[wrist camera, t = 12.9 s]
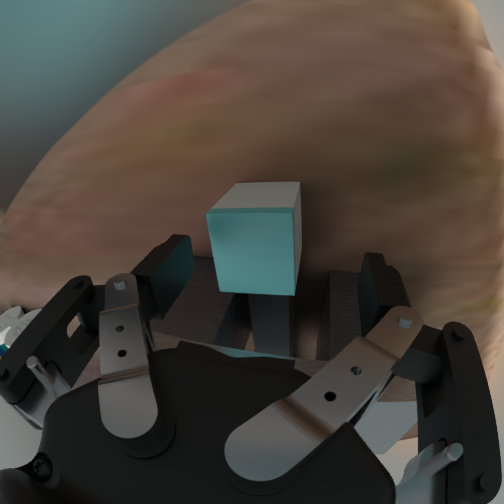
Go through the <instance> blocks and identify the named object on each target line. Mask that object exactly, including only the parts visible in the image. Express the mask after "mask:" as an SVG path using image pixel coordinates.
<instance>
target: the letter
mask: <svg viewBox="0 0 504 504" xmlns="http://www.w3.org/2000/svg"><path fill="white" fill-rule="evenodd" d="M41 310H42V309H35V310H33V311H31V312H28V313H27V314H24V312H23V310H22V309H21V307H19V306H15V307H13V308H11V309H9V310H7V311H6V312H4V313H3V314H2V315H0V345H2V344H4V343H5V344H6V346H7V347H8V348H9V347H10V346H11V345H12V343H13V342H14V341H15V340H16V339H17V337H18V336H19V335H20V334H21V333H22V331H23V330H24V329H25V328H26V327H27V326H28V324H29V323H30V322H31V321H32V320H33V319H34V318H35V316H36V315H37V314H38V313H39V312H40V311H41Z"/></svg>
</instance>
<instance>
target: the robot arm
mask: <svg viewBox="0 0 504 504" xmlns="http://www.w3.org/2000/svg"><path fill="white" fill-rule="evenodd" d="M193 272H194V259H193V252H192V245H191V239H190V237H189V236H188V235H179V234H173V235H172V236H171V237H170V238H169V239H168V240H167V241H166V242H165V243H162V244H161V245H159V246H157V247H155V248H154V249H153V250H152V251H151V252H150V253H149V255H147V256H146V257H145V258H144V260H142V261H141V262H140V263H139V264H138V265H137V266H136V267H135V268H134V269H133V270H132V271H131V272H130V273H121V274H117V275H115V276H113V277H111V278H110V279H109V280H108V281H107V282H106V284H105V285H94V286H93V283H92V280H91V278H90V277H89V276H86V275H82V276H77V277H75V278H73V279H71V280H70V281H68V282H67V283H66V284H65V285H64V286H63V287H62V288H61V290H60V291H59V292H58V293H57V294H56V295H55V296H54V297H53V298H52V299H51V300H50V301H49V302H48V303H47V304H46V305H45V306H44V308H43V309H42V310H41V311H40V312H39V313H38V314H37V315H36V316H35V318H34V319H33V320H32V321H31V322H30V323H29V324H28V326H27V327H26V328H25V329H24V330H23V331H22V333H21V334H20V335H19V336H18V337H17V339H16V340H15V341H14V342H13V343H12V345H11V346H10V347H9V348H8V350H7V351H6V352H5V353H4V355H3V356H2V357H1V359H0V395H1V396H2V397H3V399H4V400H5V402H6V403H7V404H8V405H9V406H10V407H11V408H12V409H13V410H14V411H15V412H16V413H17V414H19V416H21V417H22V418H23V419H25V420H26V421H27V422H28V423H29V424H30V425H32V426H33V427H34V428H35V429H40V430H42V429H43V432H42V438H41V442H40V446H39V449H38V452H37V454H36V456H35V457H34V459H33V460H32V461H31V462H29V463H28V464H26V465H24V466H21V467H18V468H13V469H12V468H9V469H4V470H0V504H487V503H489V502H490V501H491V500H493V499H494V497H495V496H496V495H497V493H498V491H499V489H500V486H501V482H502V472H501V457H500V447H499V439H498V432H497V425H496V419H495V414H494V409H493V404H492V399H491V395H490V390H489V386H488V382H487V378H486V375H485V371H484V368H483V364H482V361H481V357H480V354H479V351H478V348H477V345H476V342H475V339H474V336H473V334H472V332H471V331H470V329H469V328H468V327H466V326H465V325H463V324H461V323H459V322H449V323H447V324H445V325H444V327H443V329H442V330H439V329H435V328H432V327H429V326H426V325H424V324H423V319H422V317H421V315H420V314H419V313H418V312H417V311H415V310H414V309H412V308H410V304H409V301H408V298H407V295H406V292H405V289H404V286H403V283H402V282H401V281H402V280H401V277H400V275H399V272H398V271H397V270H396V269H395V268H394V267H393V266H389V265H386V263H385V260H384V257H383V254H381V253H371V252H366V253H365V255H364V260H363V264H362V269H361V274H360V278H359V283H358V303H359V312H360V322H361V334H362V336H361V335H359V336H357V337H356V338H355V339H354V340H353V341H352V342H351V343H349V344H348V345H347V346H346V347H345V348H344V349H343V350H342V351H341V352H340V353H339V354H338V355H337V356H336V357H334V358H333V359H332V360H331V361H330V362H329V363H328V364H327V365H326V366H324V367H323V368H322V369H321V370H320V371H319V372H318V373H316V374H315V375H314V376H313V377H311V376H309V375H307V374H305V373H303V372H301V371H299V370H296V369H294V367H295V360H290V359H282V358H274V357H267V356H260V357H231V356H228V355H226V354H224V353H221V352H219V351H217V350H214V349H212V348H210V347H208V346H205V345H200V344H195V343H190V342H186V341H182V340H180V341H179V343H178V345H177V347H176V348H167V349H161V350H156V346H155V342H154V337H153V333H152V329H151V325H150V320H151V319H156V320H161V321H162V320H163V318H164V317H165V315H166V314H167V312H168V311H169V309H170V308H171V306H172V305H173V303H174V302H175V300H176V299H177V297H178V296H179V294H180V293H181V291H182V290H183V289H184V287H185V286H186V284H187V283H188V281H189V280H190V278H191V277H192V275H193ZM76 315H77V317H78V319H79V321H80V323H81V324H80V326H79V327H78V328H77V329H76V331H75V332H74V333H73V335H72V336H71V337H70V338H69V337H68V335H67V327H68V324H69V323H70V322H71V321H72V319H73V318H74V317H75V316H76ZM99 346H100V366H101V377H100V378H98V379H96V380H94V381H91V382H89V383H87V384H85V385H83V386H81V387H79V388H76V389H74V390H72V391H71V389H72V387H73V386H74V384H75V383H76V381H77V379H78V378H79V376H80V375H81V373H82V371H83V370H84V368H85V367H86V365H87V364H88V362H89V361H90V359H91V358H92V356H93V355H94V353H95V352H96V350H97V349H98V347H99ZM396 376H399V377H402V378H405V379H408V380H412V381H415V388H416V401H417V418H418V455H417V456H415V457H414V458H412V459H411V460H410V461H409V462H408V464H407V465H406V467H405V470H404V474H403V478H402V480H401V482H400V483H399V484H398V485H397V486H395V484H394V481H393V479H392V477H391V475H390V473H389V472H388V471H387V470H386V468H385V467H384V466H383V464H382V463H381V462H380V461H379V459H378V458H377V457H376V456H375V454H374V453H373V452H372V450H371V449H370V448H369V447H368V445H367V444H366V443H365V441H364V440H363V439H362V438H361V436H360V435H359V434H358V432H357V431H356V430H355V427H356V426H357V425H358V424H359V423H360V422H361V420H362V419H363V418H364V417H365V415H366V414H367V413H368V411H369V410H370V409H371V408H372V406H373V405H374V404H375V403H376V401H377V400H378V399H379V398H380V397H381V395H382V394H383V393H384V392H385V390H386V389H387V388H388V386H389V385H390V384H391V382H392V381H393V380H394V378H395V377H396Z"/></svg>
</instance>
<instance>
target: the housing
mask: <svg viewBox="0 0 504 504" xmlns="http://www.w3.org/2000/svg"><path fill="white" fill-rule="evenodd" d="M193 259H194V272H193V275H192V277H191V278H190V280H189V281H188V283H187V284H186V286H185V287H184V289H183V290H182V291H181V293H180V294H179V296H178V297H177V299H176V300H175V302H174V303H173V305H172V306H171V308H170V309H169V311H168V312H167V314H166V315H165V317H164V318H163V320H162V321H161V320H156V319H151V320H150V325H151V329H152V333H153V337H154V342H155V346H156V350H161V349H167V348H176V347H177V345H178V343H179V341H180V340H182V341H186V342H190V343H195V344H200V345H205V346H208V347H210V348H212V349H214V350H217V351H219V352H221V353H224V354H226V355H228V356H231V357H260V356H267V357H274V358H282V359H290V360H295V367H294V369H296V370H299V371H301V372H303V373H305V374H307V375H309V376H311V377H313V376H314V375H315V374H316V373H318V372H319V371H320V370H321V369H322V368H323V367H324V366H326V365H327V364H328V363H329V362H330V361H331V360H332V359H333V358H334V357H336V356H337V355H338V354H339V353H340V352H341V351H342V350H343V349H344V348H345V347H346V346H347V345H348V344H349V343H351V342H352V341H353V340H354V339H355V338H356V337H357V336H359V335H361V336H362V334H361V322H360V312H359V303H358V283H359V278H360V274H361V273H352V272H342V271H331V270H330V273H329V279H328V285H327V291H326V297H325V302H324V308H323V313H322V319H321V324H320V329H319V334H318V338H317V348H316V360H312V359H303V358H294V357H286V356H278V355H271V354H264V353H257V352H251V351H245V350H244V349H245V346H246V343H247V340H248V337H249V334H250V309H249V301H248V294H247V293H236V292H222V291H220V289H219V284H218V279H217V274H216V268H215V263H214V258H207V257H198V256H193ZM401 280H402V279H401ZM401 282H402V283H403V281H401ZM403 286H404V284H403ZM404 289H405V287H404ZM405 292H406V290H405ZM406 295H407V293H406ZM407 298H408V296H407ZM408 301H409V298H408ZM409 304H410V301H409ZM410 308H412V307H411V304H410ZM417 421H418V418H417V401H416V388H415V381H412V380H408V379H405V378H402V377H399V376H396V377H395V378H394V380H393V381H392V382H391V384H390V385H389V386H388V388H387V389H386V390H385V392H384V393H383V394H382V395H381V397H380V398H379V399H378V400H377V401H376V403H375V404H374V405H373V406H372V408H371V409H370V410H369V411H368V413H367V414H366V415H365V417H364V418H363V419H362V420H361V422H360V423H359V424H358V425H357V426H356V427H355V430H356V431H357V432H358V434H359V435H360V436H361V438H362V439H363V440H364V441H365V443H366V444H367V445H368V447H369V448H370V449H371V450H372V452H373V453H374V454H384V453H385V452H387V451H388V450H389V449H390V448H391V447H392V446H393V445H394V444H395V443H396V442H397V441H398V440H399V439H400V438H401V437H402V436H403V435H404V434H405V433H406V432H407V431H408V430H409V429H410V428H411V427H412V426H413V425H414V424H415V423H416V422H417Z"/></svg>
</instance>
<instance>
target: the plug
mask: <svg viewBox="0 0 504 504" xmlns="http://www.w3.org/2000/svg"><path fill="white" fill-rule="evenodd" d="M206 218H207V224H208V230H209V236H210V241H211V247H212V252H213V258H214V263H215V268H216V274H217V279H218V284H219V289H220V291H222V292H236V293H247V294H248V301H249V309H250V316H251V323H252V331H253V338H254V345H255V352H257V353H264V354H271V355H278V356H286V357H293V355H294V314H293V296H295V290H296V283H297V277H298V271H299V264H300V257H301V250H302V222H301V192H300V182H254V183H236V184H235V185H234V186H233V187H232V188H231V189H230V190H229V191H228V192H227V193H226V194H225V195H224V196H223V197H222V198H221V199H220V200H219V201H218V202H217V203H216V204H215V205H214V206H213V207H212V208H211V209H210V210H209V211H208V212H207V213H206Z"/></svg>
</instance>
